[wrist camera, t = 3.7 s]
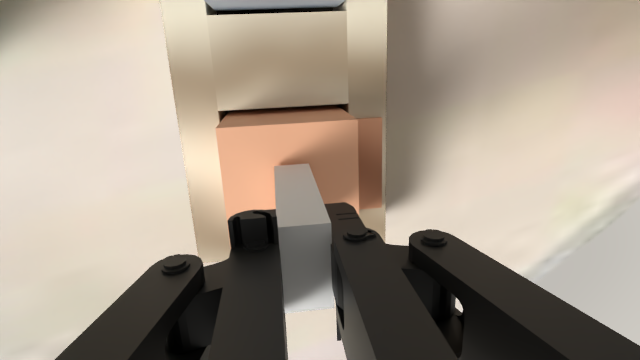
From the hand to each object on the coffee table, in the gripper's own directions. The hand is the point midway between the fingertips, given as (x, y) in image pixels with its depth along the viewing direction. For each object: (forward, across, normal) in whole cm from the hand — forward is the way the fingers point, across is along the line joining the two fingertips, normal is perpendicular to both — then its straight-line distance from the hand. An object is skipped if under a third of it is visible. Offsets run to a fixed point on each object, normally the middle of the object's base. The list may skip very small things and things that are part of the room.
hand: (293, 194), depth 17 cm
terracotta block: (+6, 0, 0) cm, 6 cm away
